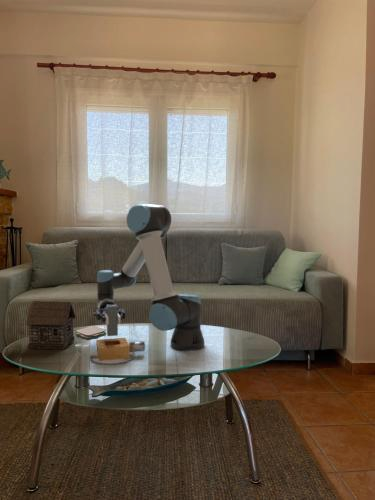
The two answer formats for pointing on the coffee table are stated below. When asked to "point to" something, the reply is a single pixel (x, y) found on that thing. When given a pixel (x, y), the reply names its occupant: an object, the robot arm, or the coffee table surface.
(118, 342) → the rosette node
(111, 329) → the wedge pin
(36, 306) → the model building
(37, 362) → the coffee table surface
